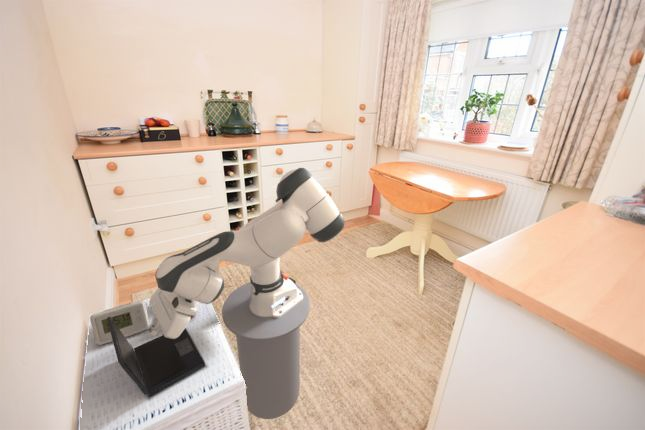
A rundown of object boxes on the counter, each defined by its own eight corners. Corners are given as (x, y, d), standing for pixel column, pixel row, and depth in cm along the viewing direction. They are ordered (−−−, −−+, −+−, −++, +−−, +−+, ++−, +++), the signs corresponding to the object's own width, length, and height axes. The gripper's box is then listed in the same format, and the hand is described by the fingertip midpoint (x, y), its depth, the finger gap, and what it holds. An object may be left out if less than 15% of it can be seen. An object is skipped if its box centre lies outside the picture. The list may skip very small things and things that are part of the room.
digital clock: (94, 348, 98) (85, 324, 93) (102, 328, 105) (94, 305, 101) (149, 336, 103) (142, 313, 99) (152, 318, 111) (147, 296, 106)
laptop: (184, 328, 107) (183, 325, 106) (205, 366, 93) (204, 362, 92) (134, 352, 97) (133, 347, 96) (149, 397, 83) (148, 393, 83)
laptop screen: (110, 316, 88) (106, 317, 88) (122, 360, 74) (118, 362, 74) (133, 348, 96) (130, 349, 96) (148, 393, 83) (144, 395, 82)
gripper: (161, 274, 95) (134, 310, 93) (181, 309, 81) (149, 352, 79) (178, 280, 100) (152, 315, 98) (199, 314, 86) (169, 355, 84)
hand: (151, 332), depth 88 cm, fingers closed
